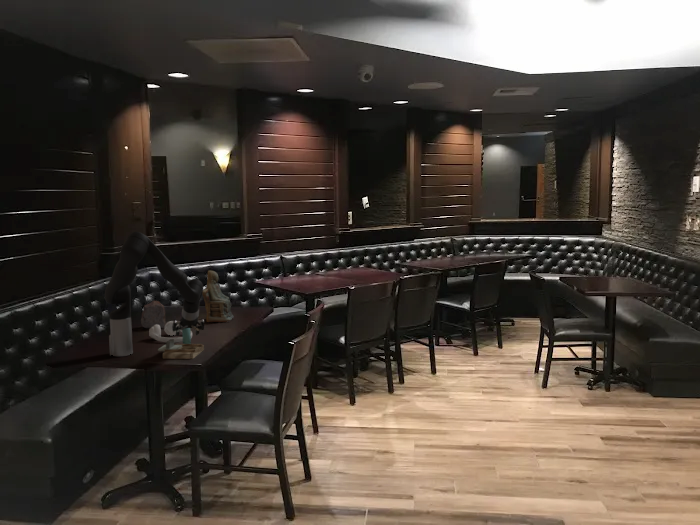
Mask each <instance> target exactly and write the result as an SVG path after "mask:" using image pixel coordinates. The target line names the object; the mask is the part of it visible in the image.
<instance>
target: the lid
mask: <svg viewBox="0 0 700 525" xmlns="http://www.w3.org/2000/svg"><path fill="white" fill-rule="evenodd" d="M174 344H175V343H174V339H170V340H169V341H167V342H165V344H163V345H162V346H161V347H159V348H158V349H157V351H158V352H165V349H180V348H181V347H182V345H174Z"/></svg>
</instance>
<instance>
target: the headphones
mask: <svg viewBox="0 0 700 525" xmlns="http://www.w3.org/2000/svg"><path fill="white" fill-rule="evenodd" d="M173 321H174V320H171V321H170V320H169V321H166V323H165V327H163V330H164V333H165V334H166V335H168V336H169V335H170V336H169V337H164V336H162V328H160V325H154V326H153V327H151V328H148V330H149V331H148V335H149V337H150V338H151V339H153V340H155V341H157V342H161V343H166V342H167V341H169V340H170V339H174V344H177V343H183V337H182V336H181V337H179V336H178V337H174V336H177V335H176V331H173V329H172V326H173ZM178 325H179V324H178ZM178 325H177V326H178ZM177 326H176V327H177ZM179 332H181V333H182V330H180V331H179ZM190 334H191V339H192V338H193V331H192V330H190ZM173 335H174V336H173ZM172 336H173V337H172Z"/></svg>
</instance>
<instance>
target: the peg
mask: <svg viewBox="0 0 700 525" xmlns="http://www.w3.org/2000/svg"><path fill="white" fill-rule="evenodd" d="M190 331H191V328H185V329H183V330H182V332H181V333H182V334H181V335H182V336H181V337H183V342H182V344H192V341H191V340H192V338H191V334H190Z"/></svg>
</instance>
